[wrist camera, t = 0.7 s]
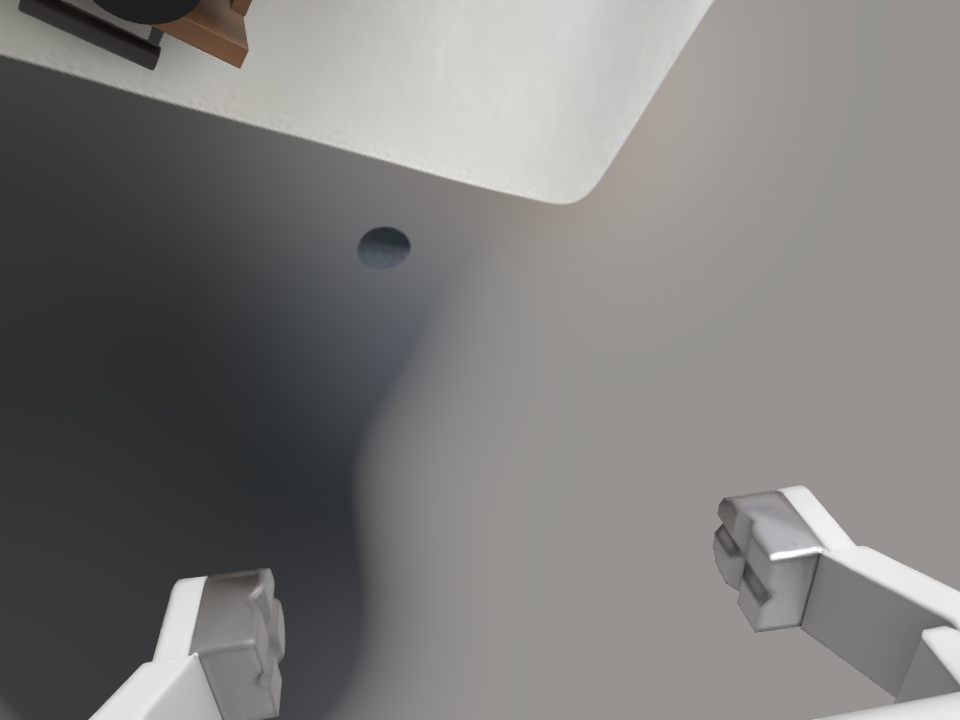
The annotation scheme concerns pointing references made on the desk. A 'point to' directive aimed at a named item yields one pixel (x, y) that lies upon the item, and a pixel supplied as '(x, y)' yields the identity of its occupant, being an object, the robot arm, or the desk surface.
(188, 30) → the drawer
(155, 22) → the tin
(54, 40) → the desk surface
